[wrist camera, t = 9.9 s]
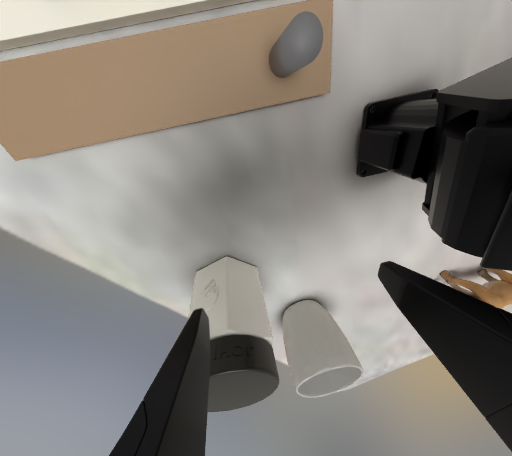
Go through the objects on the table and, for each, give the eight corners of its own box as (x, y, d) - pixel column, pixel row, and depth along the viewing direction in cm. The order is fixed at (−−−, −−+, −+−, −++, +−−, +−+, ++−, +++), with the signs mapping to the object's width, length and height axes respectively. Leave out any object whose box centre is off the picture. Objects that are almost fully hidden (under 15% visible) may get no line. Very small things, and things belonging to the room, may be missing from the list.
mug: (265, 317, 31) (281, 393, 22) (305, 286, 28) (341, 360, 20) (309, 336, 37) (335, 402, 28) (347, 312, 34) (387, 377, 26)
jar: (241, 245, 22) (256, 355, 12) (269, 283, 26) (298, 387, 16) (180, 277, 23) (148, 401, 13) (216, 308, 28) (213, 420, 18)
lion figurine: (514, 246, 31) (608, 289, 24) (500, 268, 34) (580, 312, 26) (429, 274, 32) (494, 325, 24) (423, 292, 34) (479, 343, 27)
